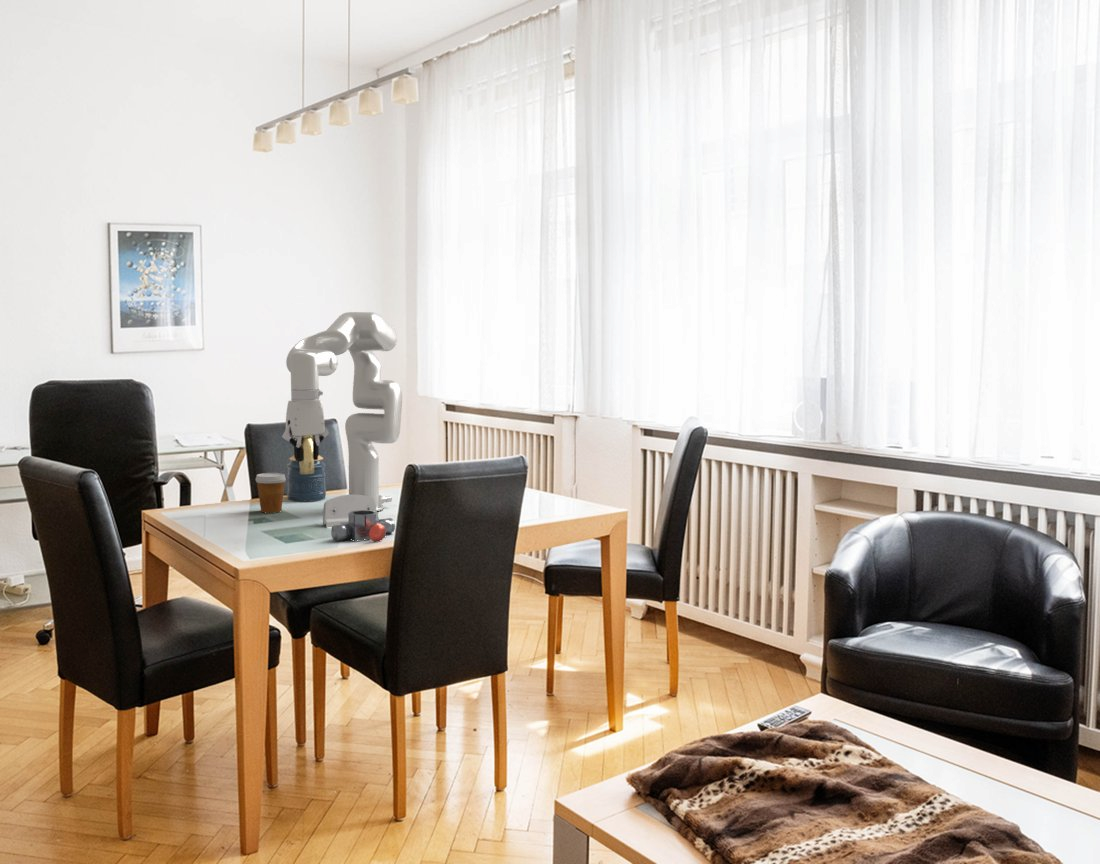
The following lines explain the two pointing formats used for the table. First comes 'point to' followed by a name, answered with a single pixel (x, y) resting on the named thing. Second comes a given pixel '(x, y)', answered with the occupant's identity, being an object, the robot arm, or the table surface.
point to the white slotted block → (345, 508)
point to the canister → (306, 482)
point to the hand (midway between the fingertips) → (306, 459)
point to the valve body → (363, 527)
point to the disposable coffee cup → (270, 491)
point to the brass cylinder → (307, 455)
